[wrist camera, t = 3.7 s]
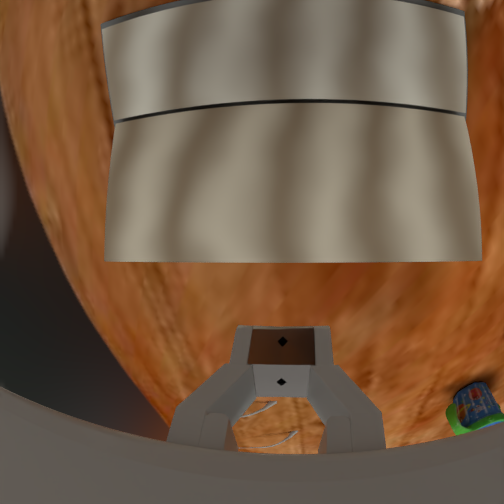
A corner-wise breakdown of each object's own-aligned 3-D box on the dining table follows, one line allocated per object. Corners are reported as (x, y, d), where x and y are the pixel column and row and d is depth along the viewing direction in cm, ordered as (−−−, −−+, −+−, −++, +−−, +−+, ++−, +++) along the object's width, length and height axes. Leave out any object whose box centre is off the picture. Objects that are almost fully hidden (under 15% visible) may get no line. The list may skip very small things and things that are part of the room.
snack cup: (505, 380, 42) (519, 420, 34) (470, 408, 48) (479, 447, 39) (468, 369, 40) (483, 418, 32) (427, 401, 46) (436, 448, 37)
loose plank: (457, 123, 21) (464, 116, 20) (472, 260, 21) (481, 260, 19) (123, 129, 25) (115, 123, 24) (114, 261, 25) (104, 261, 23)
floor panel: (459, 12, 16) (472, 9, 14) (439, 250, 29) (447, 264, 27) (106, 24, 20) (91, 23, 18) (149, 251, 34) (140, 264, 32)
